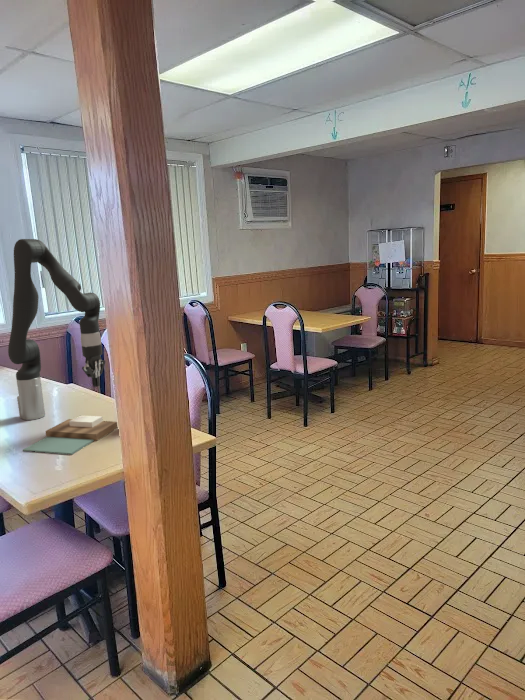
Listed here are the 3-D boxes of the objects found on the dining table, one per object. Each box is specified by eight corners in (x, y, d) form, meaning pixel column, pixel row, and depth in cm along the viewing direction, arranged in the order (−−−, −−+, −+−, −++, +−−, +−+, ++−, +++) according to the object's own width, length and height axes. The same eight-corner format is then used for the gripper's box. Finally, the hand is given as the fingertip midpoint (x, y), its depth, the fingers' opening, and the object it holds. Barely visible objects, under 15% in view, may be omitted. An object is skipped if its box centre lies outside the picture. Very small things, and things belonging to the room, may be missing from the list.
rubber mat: (23, 451, 182) (22, 449, 182) (47, 437, 194) (47, 436, 194) (71, 454, 177) (71, 453, 176) (93, 441, 189) (93, 439, 189)
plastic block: (69, 426, 199) (69, 421, 199) (80, 420, 206) (80, 415, 205) (92, 427, 196) (91, 422, 196) (102, 421, 203) (102, 416, 203)
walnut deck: (46, 437, 195) (45, 431, 195) (69, 424, 208) (68, 419, 208) (96, 440, 189) (96, 434, 189) (117, 427, 202) (116, 421, 202)
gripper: (93, 340, 211) (97, 381, 214) (72, 347, 199) (78, 390, 202) (109, 340, 209) (113, 382, 212) (89, 347, 197) (95, 391, 200)
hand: (96, 386), depth 207 cm, fingers closed
